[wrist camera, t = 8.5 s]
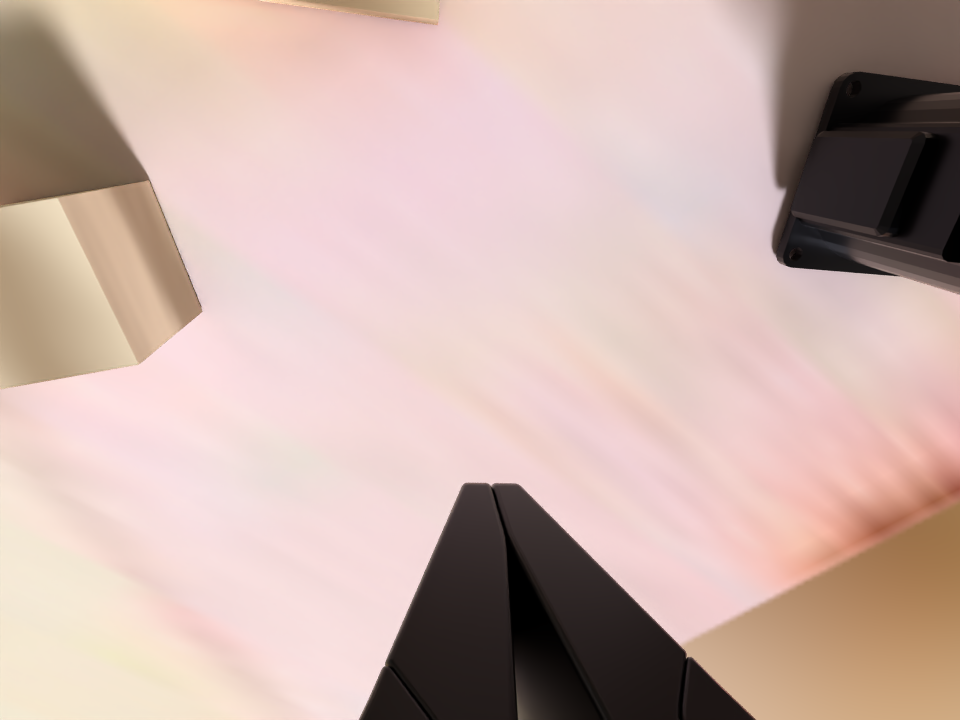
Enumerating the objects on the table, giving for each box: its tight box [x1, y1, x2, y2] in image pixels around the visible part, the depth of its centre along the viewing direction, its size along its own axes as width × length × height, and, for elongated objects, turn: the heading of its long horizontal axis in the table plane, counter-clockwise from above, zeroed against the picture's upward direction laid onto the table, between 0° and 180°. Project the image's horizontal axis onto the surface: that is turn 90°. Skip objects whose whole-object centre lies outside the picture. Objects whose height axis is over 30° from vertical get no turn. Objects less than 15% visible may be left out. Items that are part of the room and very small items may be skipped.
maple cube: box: [0, 181, 202, 389], centre depth 15 cm, size 4×4×4 cm
